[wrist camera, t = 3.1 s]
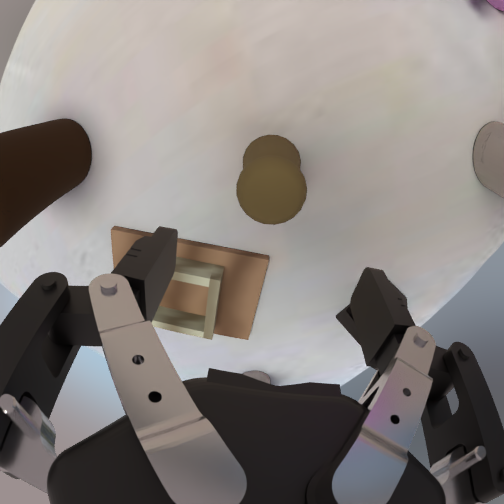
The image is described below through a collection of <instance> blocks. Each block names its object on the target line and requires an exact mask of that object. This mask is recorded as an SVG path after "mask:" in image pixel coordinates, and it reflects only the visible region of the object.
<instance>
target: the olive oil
mask: <svg viewBox="0 0 504 504" xmlns="http://www.w3.org/2000/svg"><path fill="white" fill-rule="evenodd" d="M90 164H91V147H90V142H89V139H88V137H87V134H86V133H85V131H84V130H83V128H82V127H81V126H80V125H79V124H78V123H76V122H75V121H73V120H70V119H58V120H53V121H48V122H44V123H40V124H35V125H31V126H27V127H22V128H18V129H14V130H10V131H6V132H3V133H0V247H1V246H3V245H4V244H5V243H6V242H7V241H8V240H9V239H10V238H11V237H12V236H13V235H15V234H16V233H17V232H18V231H19V230H20V229H21V228H22V227H23V226H25V225H26V224H27V223H28V222H29V221H30V220H32V219H33V218H34V217H35V216H37V215H38V214H39V213H40V212H42V211H43V210H44V209H45V208H47V207H48V206H49V205H51V204H52V203H53V202H54V201H56V200H57V199H59V198H60V197H61V196H63V195H64V194H66V193H67V192H69V191H70V190H72V189H73V188H75V187H76V186H78V185H79V184H80V183H81V182H82V181H83V180H84V179H85V177H86V175H87V173H88V171H89V168H90Z"/></svg>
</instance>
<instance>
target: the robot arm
mask: <svg viewBox="0 0 504 504" xmlns="http://www.w3.org/2000/svg"><path fill="white" fill-rule="evenodd" d="M473 161H474V168H475V172H476V174H477V177H478V179H479V180H480V182H481V183H482V184H483V185H484V186H485V187H487V188H489V189H490V190H492V191H493V192H495V193H496V194H498V195H500V196H501V197H502V198H504V124H503V123H500V122H491V123H488V124H487V125H485V126H484V127H483V128H482V129H481V131H480V132H479V134H478V136H477V139H476V141H475V145H474V152H473ZM177 237H178V231H177V229H172V228H166V227H161V226H159V227H158V228H157V230H156V231H155V232H154V234H153V235H152V237H150V236H144V237H142V238H140V239H138V240H136V241H135V242H134V244H133V245H132V246H131V248H130V249H129V250H128V251H127V253H126V255H124V257H123V258H122V259H121V260H120V262H119V263H118V264H117V266H116V267H115V268H114V270H113V271H112V272H111V274H103V275H100V276H98V277H96V278H94V279H93V280H92V281H91V283H90V285H89V286H68V281H67V278H66V277H65V276H64V275H63V274H61V273H57V272H49V273H45V274H43V275H41V276H39V277H38V278H36V279H35V280H34V282H33V283H32V284H31V285H30V286H29V288H28V289H27V290H26V291H25V293H24V294H23V295H22V297H21V298H20V299H19V300H18V302H17V303H16V304H15V306H14V307H13V308H12V310H11V311H10V312H9V314H8V315H7V317H6V318H5V319H4V321H3V322H2V324H1V325H0V471H2V472H4V473H6V474H7V475H9V476H11V477H13V478H15V479H21V480H23V481H25V482H27V483H28V484H30V485H32V486H34V487H36V488H38V489H40V490H42V491H43V492H45V493H48V496H49V500H50V504H485V503H487V502H489V501H491V500H493V499H495V498H497V497H499V496H500V495H502V494H504V430H503V426H502V423H501V420H500V418H499V414H498V412H497V409H496V406H495V404H494V401H493V398H492V396H491V393H490V390H489V388H488V386H487V383H486V381H485V378H484V376H483V374H482V371H481V369H480V367H479V365H478V362H477V360H476V358H475V356H474V354H473V352H472V351H471V349H470V348H469V347H467V346H466V345H465V344H463V343H461V342H454V343H453V344H452V345H451V346H450V347H449V349H448V350H446V349H443V348H440V347H438V346H436V344H435V340H434V338H433V337H432V335H431V334H430V333H429V332H427V331H426V330H425V329H423V328H421V327H418V326H415V324H414V321H413V319H412V317H411V315H410V313H409V311H408V309H407V307H405V306H406V305H405V303H404V301H403V300H402V297H401V295H400V293H399V292H398V290H397V289H396V288H395V287H394V286H393V285H392V284H391V283H390V282H389V280H388V279H387V277H386V275H385V273H384V271H383V270H379V269H374V268H369V267H367V268H365V269H364V271H363V273H362V275H361V277H360V280H359V282H358V284H357V286H356V288H355V290H354V292H353V295H352V297H351V302H350V308H351V312H352V315H353V319H354V322H355V326H356V329H357V333H358V336H359V340H360V343H361V347H362V351H363V354H364V358H365V362H366V366H374V367H378V370H377V372H376V373H375V375H374V376H373V378H372V380H371V381H370V383H369V385H368V386H367V388H366V390H365V392H364V393H363V395H362V396H361V398H360V399H359V401H358V402H357V401H356V400H354V399H352V398H350V397H347V396H345V395H342V394H341V390H340V384H324V383H311V382H309V383H302V384H294V385H286V386H275V385H271V384H269V383H266V382H263V381H260V380H257V379H255V378H252V377H249V376H246V375H244V374H239V373H233V372H227V371H221V370H216V369H211V368H209V371H208V376H207V378H194V379H189V380H185V381H181V379H180V377H179V376H178V374H177V372H176V370H175V368H174V366H173V365H172V363H171V361H170V359H169V357H168V355H167V353H166V351H165V349H164V347H163V345H162V343H161V341H160V339H159V337H158V335H157V333H156V331H155V329H154V327H153V325H152V321H153V318H154V316H155V314H156V312H157V309H158V307H159V305H160V303H161V301H162V298H163V296H164V294H165V292H166V290H167V288H168V285H169V283H170V281H171V279H172V277H173V274H174V271H175V266H176V253H177ZM81 346H102V348H103V351H104V355H105V358H106V361H107V364H108V367H109V370H110V373H111V376H112V379H113V382H114V385H115V387H116V390H117V393H118V395H119V398H120V400H121V403H122V406H123V409H124V411H125V413H126V415H124V416H123V417H121V418H120V419H118V420H116V421H115V422H113V423H111V424H110V425H108V426H106V427H105V428H103V429H101V430H100V431H98V432H96V433H95V434H93V435H91V436H89V437H88V438H86V439H84V440H82V441H81V442H79V443H77V444H75V445H73V446H72V447H70V448H68V449H66V450H64V451H63V452H62V453H61V454H59V456H58V457H57V456H56V453H55V448H54V447H55V446H54V444H55V438H56V434H55V429H54V426H53V424H52V423H51V421H50V420H49V417H50V415H51V412H52V409H53V407H54V405H55V402H56V400H57V397H58V394H59V393H60V390H61V388H62V385H63V383H64V381H65V379H66V376H67V374H68V372H69V370H70V368H71V365H72V363H73V361H74V359H75V357H76V355H77V353H78V351H79V349H80V347H81ZM453 388H455V391H456V394H457V396H458V399H459V407H458V410H457V411H456V413H455V414H453V415H452V413H451V410H450V406H449V403H448V400H447V397H446V395H447V394H448V392H450V391H451V390H452V389H453ZM420 419H421V421H422V426H423V431H424V436H425V440H426V445H427V450H428V456H429V462H430V468H431V469H430V472H429V471H428V470H427V469H426V468H425V467H424V466H423V465H422V464H421V463H420V462H419V461H418V460H417V459H416V458H415V457H414V456H413V455H412V454H411V453H410V452H409V451H408V449H409V447H410V444H411V442H412V439H413V437H414V434H415V432H416V429H417V427H418V424H419V421H420Z"/></svg>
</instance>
